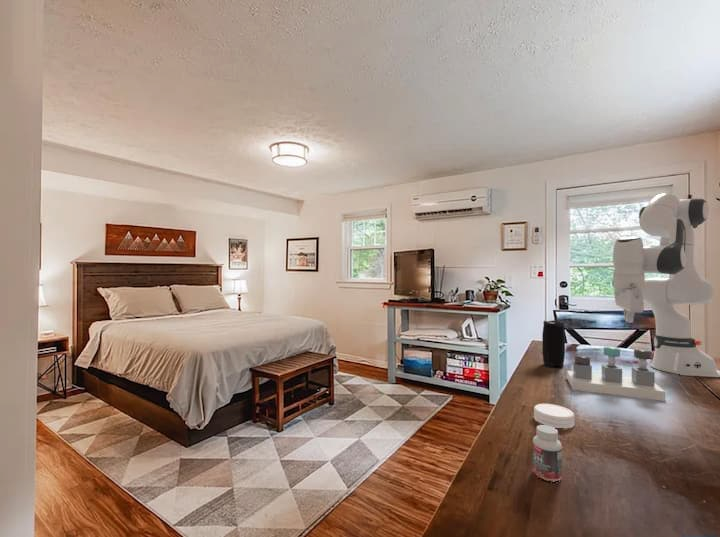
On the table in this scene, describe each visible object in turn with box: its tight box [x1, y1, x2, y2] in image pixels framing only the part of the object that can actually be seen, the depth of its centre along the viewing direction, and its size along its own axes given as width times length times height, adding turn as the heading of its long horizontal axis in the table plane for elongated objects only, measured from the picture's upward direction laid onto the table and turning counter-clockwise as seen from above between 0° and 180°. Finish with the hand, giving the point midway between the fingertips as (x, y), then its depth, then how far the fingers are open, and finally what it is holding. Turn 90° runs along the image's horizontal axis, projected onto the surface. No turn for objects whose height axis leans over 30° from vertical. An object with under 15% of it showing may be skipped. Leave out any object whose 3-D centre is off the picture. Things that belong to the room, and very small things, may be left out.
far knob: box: [574, 354, 591, 365], centre depth 129 cm, size 5×5×6 cm
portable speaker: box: [541, 320, 566, 368], centre depth 155 cm, size 9×9×20 cm
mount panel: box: [566, 360, 666, 402], centre depth 126 cm, size 26×14×8 cm, turn 67°
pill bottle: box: [532, 424, 563, 481], centre depth 73 cm, size 5×5×10 cm
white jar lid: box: [533, 403, 575, 430], centre depth 99 cm, size 10×10×4 cm
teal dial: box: [603, 346, 621, 367], centre depth 126 cm, size 5×5×7 cm
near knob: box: [633, 348, 653, 370], centre depth 122 cm, size 5×5×6 cm
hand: (629, 322), depth 124 cm, fingers closed
